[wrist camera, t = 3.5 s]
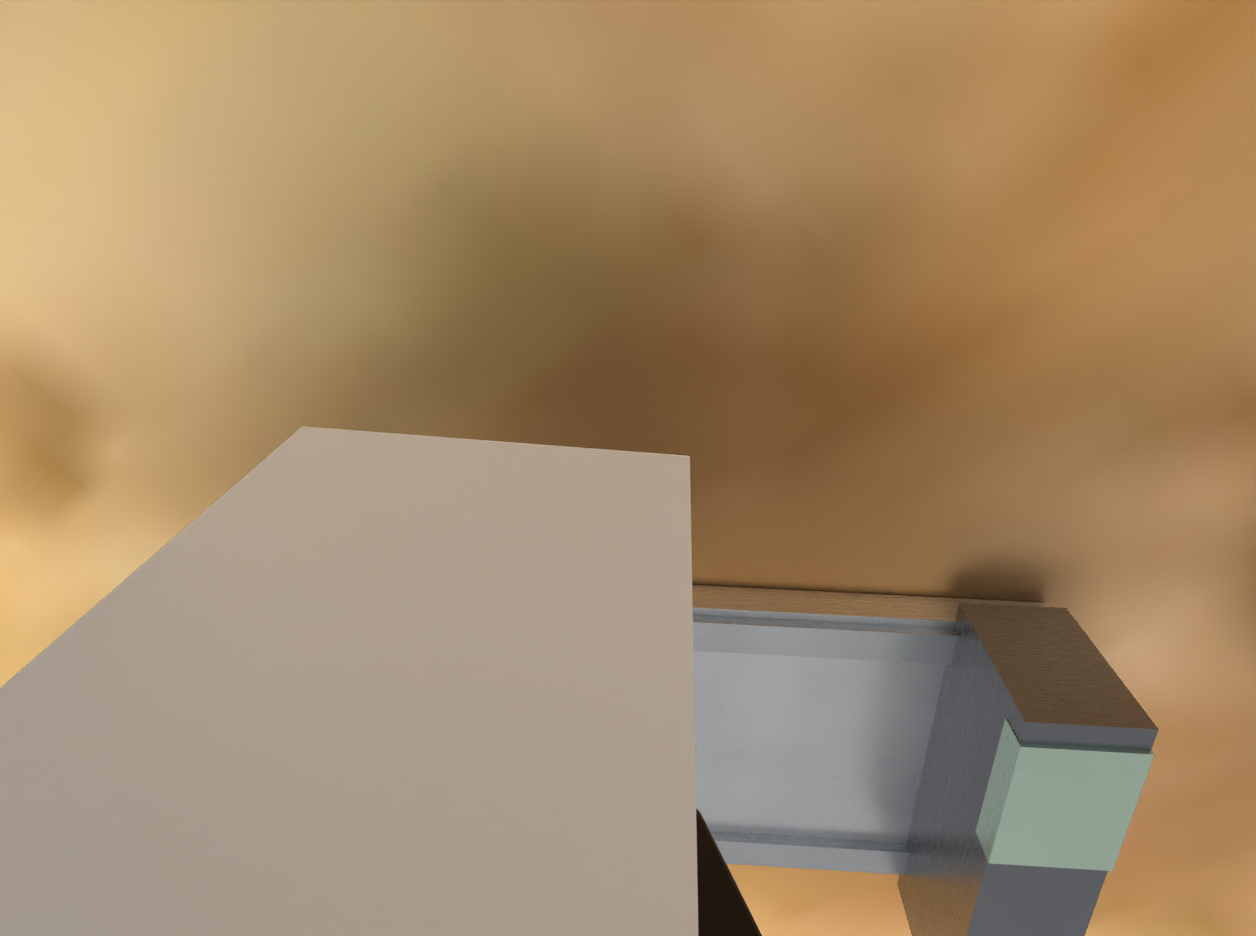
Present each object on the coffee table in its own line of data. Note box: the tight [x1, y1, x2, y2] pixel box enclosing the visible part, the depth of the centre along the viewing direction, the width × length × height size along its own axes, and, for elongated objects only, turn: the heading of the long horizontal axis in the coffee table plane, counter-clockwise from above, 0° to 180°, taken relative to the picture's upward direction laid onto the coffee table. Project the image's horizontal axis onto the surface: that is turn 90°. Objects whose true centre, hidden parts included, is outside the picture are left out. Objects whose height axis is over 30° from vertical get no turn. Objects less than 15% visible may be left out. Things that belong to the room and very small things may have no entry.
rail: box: [692, 585, 1158, 936], centre depth 20 cm, size 20×9×5 cm, turn 88°
